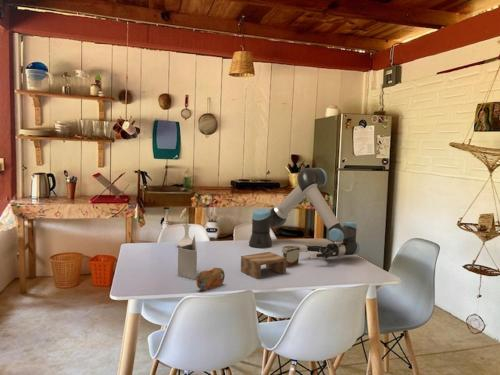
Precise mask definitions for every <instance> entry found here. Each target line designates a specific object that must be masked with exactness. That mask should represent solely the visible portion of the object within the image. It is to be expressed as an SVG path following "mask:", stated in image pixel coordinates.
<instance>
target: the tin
mask: <svg viewBox="0 0 500 375" xmlns="http://www.w3.org/2000/svg"><path fill="white" fill-rule="evenodd" d="M225 276H226V275H225V271H224V270H223V268H220V267H213V268H208V269H205V270H202V271H201V272H198V275H196V280H195V282H196V286H197V288H198V289H200V290H202V291H210V290H211V289H215V288H218V287H220V286H221V285H222V284H223V283H224V280H225Z"/></svg>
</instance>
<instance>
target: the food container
mask: <svg viewBox="0 0 500 375" xmlns="http://www.w3.org/2000/svg"><path fill="white" fill-rule="evenodd" d="M300 247H301V246H298V245H284V246H283V247H282V248H281V249H282V250H281V253H282V257H285V258H287V259H286V269H289V268H293V267H296V266H298V265H299V262H300V261H299V259H300V253H301V252H300Z"/></svg>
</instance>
